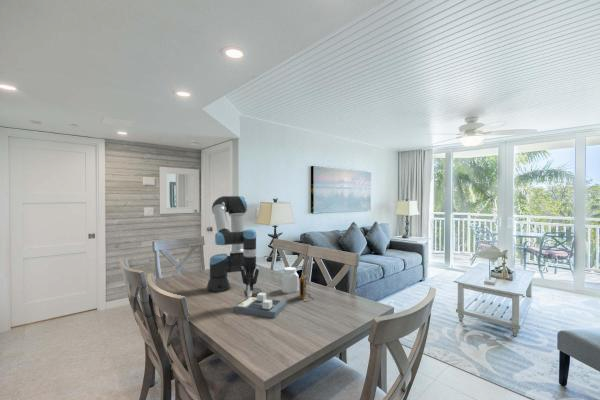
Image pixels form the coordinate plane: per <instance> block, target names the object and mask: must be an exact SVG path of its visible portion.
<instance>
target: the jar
mask: <svg viewBox="0 0 600 400" xmlns="http://www.w3.org/2000/svg"><path fill="white" fill-rule="evenodd" d="M299 291H300V287H299V274H298V273H297V268H296V267H294V266H287V267H284V269H283V273H282V274H281V292H283V293H285V294H292V293H297V292H299Z"/></svg>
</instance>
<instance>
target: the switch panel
mask: <svg viewBox="0 0 600 400" xmlns="http://www.w3.org/2000/svg"><path fill="white" fill-rule="evenodd" d="M266 299H267V300H272V307H271V308H270V309H263V308H262V302H263V301H257V296H256V297H255V296H250V297H248V296H247V298H245V299H244V300H242V301H241V302H240V303H238V304H236V305H235V307H234V312H235V313H240V314H241V313H242V314H245V315H246V314H249V315H253V316H254V315H255V316H260V317H265V318H266V317H267V318H274V319H276V317H277V316H279V314H280V313H282V311H284V309H286V307H287V301H284V300H278V299H270V298H266Z"/></svg>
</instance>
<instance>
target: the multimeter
mask: <svg viewBox="0 0 600 400" xmlns="http://www.w3.org/2000/svg"><path fill="white" fill-rule="evenodd" d="M303 266H304V267H303ZM300 269H301V270H303V271H302V274H301V275H300V278H299V299H300V300H302V301H303V302H305V303H306V302H310V301H312V300H315V297H312V296H311V294H310V293H307V275H305V265H303V264H302V267H300ZM307 295H308V297H310V298H311V299H307V301H306V300H304V299H305V298H306V296H307Z"/></svg>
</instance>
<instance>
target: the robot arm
mask: <svg viewBox="0 0 600 400" xmlns="http://www.w3.org/2000/svg"><path fill="white" fill-rule="evenodd" d="M247 211H248V202H247V199H246V198H245V197H244V196H242V195H240V196H239V195H236V196H235V195H231V196H229V195H223V196H220V197H217V199H215V201H214V202H213V203H212V206H211V212H212V214H213V215H214V216H213V217H214V221H215V225H216V227H215V228H216V230H217V231H216V233H215V234H214V242H215V245H216V246H228V245H230V246H231V251H230V252H229V255H228V254H227V253H219V254H214V255H212V256H211V257H210V258H209V264H208V265H209V279H208V282H207V285H206V291H207V292H211V293H222V292H225V291H226V292H227V291H228V290H229V289H230V288H231V287H230V285H231V284H230V281H229V279H228V273H229V274H230V273H239V272H240V274H241V280H242V283H243V284H244V285H245V286H246V287H245V290H246V291H247V298H248V297H253V296H252V295H253V290H254V286H255V285H256V284H257V281H258V277H259V272H260V271H261V268H260V267H258V265H257V256H256V255H257V231H256V229H244V216H245V215H246V212H247ZM227 213H228V216H230V226H229V221H228V217H227Z"/></svg>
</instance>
